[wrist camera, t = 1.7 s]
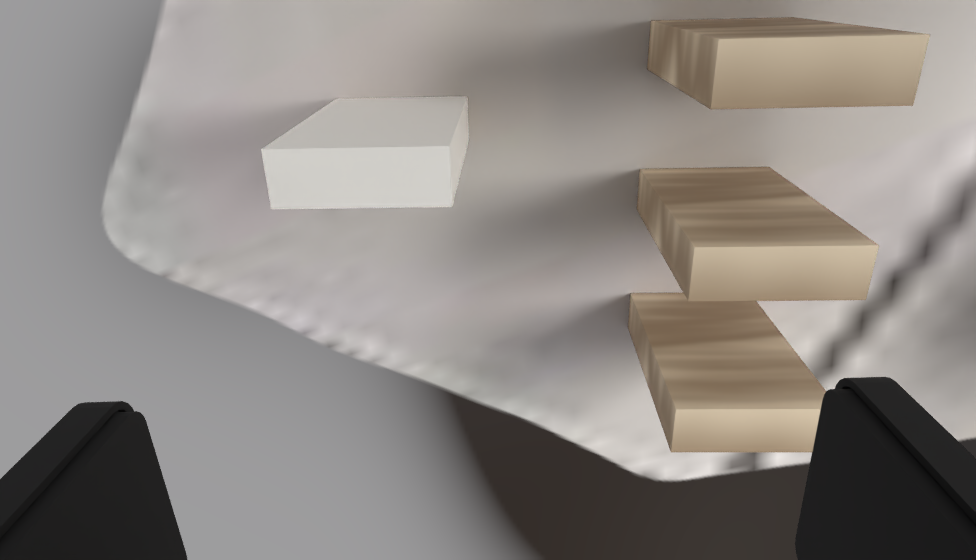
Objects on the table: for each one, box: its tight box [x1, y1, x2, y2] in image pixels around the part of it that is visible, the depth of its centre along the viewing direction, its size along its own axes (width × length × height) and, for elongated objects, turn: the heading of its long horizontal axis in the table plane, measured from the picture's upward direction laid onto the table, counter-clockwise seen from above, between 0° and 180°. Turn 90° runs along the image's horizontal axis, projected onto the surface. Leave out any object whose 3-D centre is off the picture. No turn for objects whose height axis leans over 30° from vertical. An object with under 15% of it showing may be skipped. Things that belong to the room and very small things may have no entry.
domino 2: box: [637, 167, 879, 301], centre depth 27 cm, size 2×6×10 cm, turn 91°
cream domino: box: [261, 96, 469, 209], centre depth 26 cm, size 2×6×10 cm, turn 91°
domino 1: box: [647, 17, 930, 109], centre depth 24 cm, size 2×6×10 cm, turn 91°
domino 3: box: [628, 293, 826, 452], centre depth 29 cm, size 2×6×10 cm, turn 91°
